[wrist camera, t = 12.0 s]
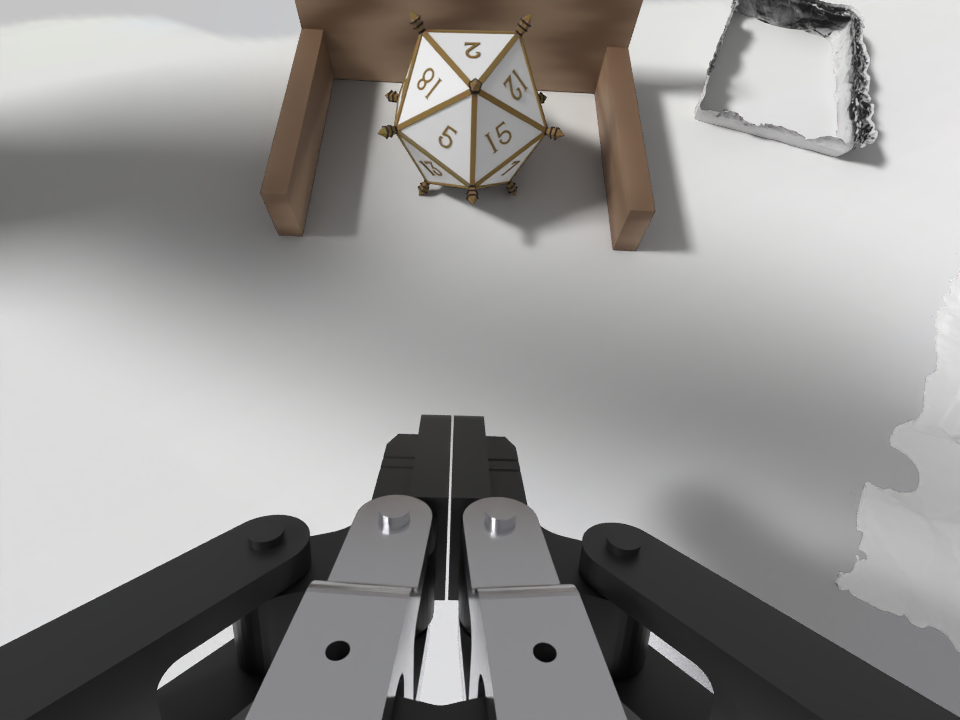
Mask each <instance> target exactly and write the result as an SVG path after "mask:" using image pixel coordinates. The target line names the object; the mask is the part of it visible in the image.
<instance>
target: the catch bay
mask: <svg viewBox="0 0 960 720" xmlns="http://www.w3.org/2000/svg"><path fill="white" fill-rule="evenodd" d="M642 2H643V0H295V3H296V7H297V11H298V15H299V19H300V23H301V27H302V30H301V34H300V37H299V41H298V45H297V49H296V53H295V57H294V61H293V65H292V69H291V73H290V77H289V81H288V85H287V89H286V93H285V97H284V100H283V104H282V108H281V112H280V116H279V120H278V124H277V128H276V132H275V136H274V140H273V144H272V148H271V152H270V156H269V160H268V163H267V167H266V171H265V175H264V179H263V183H262V187H261V191H260V194H261V196H262V198H263V200H264V203H265V205H266V207H267V210H268V212H269V214H270V216H271V219H272V221H273V223H274V226H275V228H276V230H277V232H278V235H292V236H303V231H304V226H305V221H306V216H307V211H308V206H309V201H310V196H311V191H312V186H313V181H314V176H315V171H316V166H317V161H318V156H319V151H320V145H321V140H322V135H323V130H324V125H325V120H326V115H327V110H328V105H329V100H330V95H331V90H332V85H333V80H334V79H350V80H368V81H386V82H403V80H404V77H405V74H406V72H407V69H408V66H409V63H410V60H411V57H412V54H413V51H414V48H415V45H416V42H417V39H418V36H419V33H418V32H417V31H416V30H415V29H413V28H414V27H413V26H412V24H411V25H410V22H411V16H410V11H412V12H414V13H415V14H417V15H420V16H421V20H422V21H423V25H424V28H425V29H435V30H484V31H516V30H517V27H518V23H520V21H521V18H523V17H525V16H527V15H529V14H531V23H530V25H531V27H529V28H528V30H527V31H528V32H525V33H524V34H523V35H522V39H523V42H524V46H525V49H526V53H527V56H528V60H529V63H530V67H531V70H532V74H533V77H534V81H535V85H536V88H537V90H547V91H565V92H582V93H595V101H596V110H597V118H598V127H599V135H600V144H601V153H602V161H603V170H604V178H605V187H606V196H607V204H608V213H609V221H610V230H611V238H612V247H613V250H631V251H636V249H637V247H638V245H639V243H640V241H641V239H642V237H643V235H644V233H645V231H646V229H647V227H648V225H649V223H650V221H651V219H652V217H653V215H654V213H655V207H654V201H653V195H652V189H651V183H650V177H649V171H648V165H647V159H646V153H645V147H644V141H643V135H642V129H641V122H640V116H639V110H638V104H637V98H636V92H635V86H634V80H633V74H632V68H631V62H630V56H629V50H628V47H629V44H630V40H631V37H632V34H633V31H634V28H635V24H636V21H637V18H638V15H639V11H640V8H641V5H642Z"/></svg>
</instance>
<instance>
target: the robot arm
mask: <svg viewBox="0 0 960 720" xmlns="http://www.w3.org/2000/svg"><path fill="white" fill-rule="evenodd" d="M450 442H451V415H421V421H420V428H419V434H398V435H397V436H396V437H395V438H393V439H392V440H391V441H390V442H389V443H388V444H387V446H386V449H385V453H384V459H383V460H382V464H381V469H380V471H379V475H378V479H377V483H376V486H375V490H374V494H373V497H372V500H371V501H369V502H367V503H366V504H364V505H363V506H362V507H361V508H360V509H359V510H358V512H357V514H356V516H355V518H354V520H353V523H352V525H351V526H349V527H347V528H345V529H342V530H339V531H335V532H331V533H326V534H320V535H315V536H310V531H309V528H308V526H307V525H306V524H305V523H304V522H303V521H302V520H300V519H298V518H295V517H292V516H287V515H269V516H263V517H259V518H255V519H252V520H250V521H247V522H245V523H243V524H241V525H239V526H237V527H235V528H233V529H231V530H229V531H227V532H225V533H223V534H221V535H219V536H217V537H215V538H213V539H211V540H210V541H208V542H206V543H204V544H202V545H200V546H198V547H196V548H194V549H192V550H190V551H188V552H186V553H184V554H182V555H180V556H178V557H176V558H174V559H172V560H170V561H168V562H166V563H164V564H162V565H160V566H158V567H156V568H154V569H153V570H151V571H149V572H147V573H145V574H143V575H141V576H139V577H137V578H135V579H133V580H131V581H129V582H127V583H125V584H123V585H121V586H119V587H117V588H115V589H113V590H111V591H109V592H107V593H105V594H103V595H101V596H99V597H97V598H96V599H94V600H92V601H90V602H88V603H86V604H84V605H82V606H80V607H78V608H76V609H74V610H72V611H70V612H68V613H66V614H64V615H62V616H60V617H58V618H56V619H54V620H52V621H50V622H48V623H46V624H44V625H42V626H40V627H39V628H37V629H35V630H33V631H31V632H29V633H27V634H25V635H23V636H21V637H19V638H17V639H15V640H13V641H11V642H9V643H7V644H5V645H3V646H1V647H0V720H960V717H958V716H956V715H955V714H953V713H951V712H950V711H948V710H946V709H944V708H943V707H941V706H939V705H938V704H936V703H934V702H933V701H931V700H929V699H927V698H926V697H924V696H922V695H921V694H919V693H917V692H916V691H914V690H912V689H911V688H909V687H907V686H905V685H904V684H902V683H900V682H899V681H897V680H895V679H894V678H892V677H890V676H889V675H887V674H885V673H883V672H882V671H880V670H878V669H877V668H875V667H873V666H872V665H870V664H868V663H866V662H865V661H863V660H861V659H860V658H858V657H856V656H855V655H853V654H851V653H850V652H848V651H846V650H844V649H843V648H841V647H839V646H838V645H836V644H834V643H833V642H831V641H829V640H828V639H826V638H824V637H822V636H821V635H819V634H817V633H816V632H814V631H812V630H811V629H809V628H807V627H805V626H804V625H802V624H800V623H799V622H797V621H795V620H794V619H792V618H790V617H789V616H787V615H785V614H783V613H782V612H780V611H778V610H777V609H775V608H773V607H772V606H770V605H768V604H767V603H765V602H763V601H761V600H760V599H758V598H756V597H755V596H753V595H751V594H750V593H748V592H746V591H744V590H743V589H741V588H739V587H738V586H736V585H734V584H733V583H731V582H729V581H728V580H726V579H724V578H722V577H721V576H719V575H717V574H716V573H714V572H712V571H711V570H709V569H707V568H706V567H704V566H702V565H700V564H699V563H697V562H695V561H694V560H692V559H690V558H689V557H687V556H685V555H683V554H682V553H680V552H678V551H677V550H675V549H673V548H672V547H670V546H668V545H667V544H665V543H663V542H661V541H660V540H658V539H656V538H655V537H653V536H651V535H650V534H648V533H646V532H644V531H642V530H641V529H638V528H636V527H633V526H630V525H626V524H621V523H601V524H598V525H595V526H592V527H591V528H589V529H588V530H587V531H586V532H585V533H584V535H583V539H582V541H580V540H576V539H572V538H568V537H564V536H560V535H557V534H554V533H552V532H550V531H548V530H546V529H544V528H543V527H541V526H540V524H539V521H538V518H537V516H536V514H535V512H534V511H533V510H532V509H531V508H530V507H529V506H527V501H526V496H525V491H524V486H523V481H522V476H521V472H520V466H519V462H518V456H517V451H516V447H515V446H514V445H513V444H512V443H511V442H510V441H509V440H508V439H507V438H506V437H496V436H486V435H485V425H484V416H454V431H453V459H452V488H451V521H450V555H449V590H448V600H459V615H458V647H459V659H460V671H461V682H462V694H463V701H461V702H457V703H453V704H449V705H443V706H438V705H432V704H428V703H424V702H420V701H419V698H420V692H421V686H422V680H423V673H424V667H425V661H426V655H427V648H428V642H429V634H430V622H431V620H432V618H433V613H434V600H445V580H446V553H447V527H448V500H449V471H450ZM231 624H233V631H234V639H232V640H231V641H229V642H228V643H226V644H225V645H223V646H222V647H220V648H219V649H217V650H216V651H214V652H213V653H211V654H210V655H208V656H207V657H205V658H204V659H203V660H201V661H200V662H198V663H197V664H195V665H194V666H192V667H191V668H189V669H188V670H186V671H185V672H183V673H182V674H180V675H179V676H177V677H176V678H174V679H173V680H171V681H170V682H169V683H167V684H166V685H164V686H163V687H161V688H160V689H158V690H157V687H158V684H159V682H160V680H161V678H162V676H163V675H164V673H165V672H166V671H167V669H168V668H169V667H170V666H171V665H172V664H173V663H174V662H176V661H177V660H178V659H180V658H181V657H182V656H184V655H185V654H187V653H189V652H190V651H192V650H193V649H195V648H196V647H198V646H199V645H201V644H202V643H204V642H205V641H207V640H208V639H210V638H212V637H213V636H215V635H216V634H218V633H219V632H221V631H222V630H224V629H225V628H227V627H228V626H230V625H231ZM650 631H651V632H653V633H654V634H655V635H657V636H658V637H660V638H661V639H662V640H664V641H665V642H666V643H668V644H669V645H670V646H672V647H673V648H674V649H676V650H677V651H679V652H680V653H681V654H683V655H684V656H685V657H687V658H688V659H689V660H691V661H692V662H693V663H695V664H696V665H697V666H698V667H699V668H700V669H701V670H702V671H703V672H704V673H705V674H706V676H707V677H708V679H709V680H710V682H711V684H712V687H713V690H714V694H713V693H711V692H710V691H709V690H708V689H706V688H705V687H704V686H702V685H701V684H700V683H698V682H697V681H696V680H694V679H693V678H692V677H690V676H689V675H688V674H686V673H685V672H684V671H683V670H681V669H680V668H679V667H677V666H676V665H675V664H673V663H672V662H671V661H669V660H668V659H667V658H665V657H664V656H663V655H661V654H660V653H659V652H657V651H656V650H655V649H654V648H652V647H651V646H650V645H648V641H649V636H650Z"/></svg>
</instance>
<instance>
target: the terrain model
mask: <svg viewBox="0 0 960 720" xmlns="http://www.w3.org/2000/svg"><path fill="white" fill-rule="evenodd" d="M957 254H958V253H957ZM949 286H950V290H951V291H950V293H946V294H944V295H943V298H944V301H945V305H944V306H942V307H941V308H940V309H939V310H938V312H937V316H936V321H935V327H936V328H937V334H936V335H935V337H934V338H935V341H936V346H935V351H936V353H937V365H936V368H937V370H936V371H935V372H933V373H932V374H930V375H929V376H927V377H926V380H925V381H926V385H925V394H924V406H923V408H924V410H923V411H922V412H921V413H920V415H919V417H918V418H917V420H916V421H912V420H909V421H908V422H907V423H903V424H900V425H898V426H896V427H895V429H894V432H893V433H892V435H891V436H890V438H889V442H890V445H891V446H892V447H893V448H896V449H897V450H899V451H901V452H902V453H904V454H905V455H906V456H908V457H909V458H910V459H911V460H912V461H913V463H914V464H915V466H916V467H917V470H918V472H919V484H918V487H917V489H916V490H915V491H914V492H898V491H895V490H892V489H889V488H887V489H882V488H880V487H877V486H875V485H873V484H872V483H871V482H866V483H865V485H864V488H863V490H862V494H861V498H860V501H859V502H860V505H859V508H858V513H857V524H858V525H857V526H856V529H857V530H858V531H861V532H862V533H863V536H862V540H861V543H860V545H859V550H860V551H863V552H865V554H866V557H867V558H866V560H865V559H864V560H863V559H862V560H858V559H859V556H858V555H856V558H857V562H856V563H855V565H854V568H853V569H852V571H851V572H850V573H845V574H844V573H843V572H841V571H840V575H841V576H840V575H838V576H839V579H837V581H835V582H836V583H837V584H838V587H839V588H840V590H842V591H843V590H849V592H850V594H851V595H853V596H855V597H856V598H858V599H861V600H863V601H865V602H867V603H869V604H871V606H873V607H876V608H878V609H879V610H881V611H887V612H891V613H893V614H895V615H898V616H899V617H901V616H903V615H905V616H906V617H907V618H908V620H909V621H910V623H911V624H913V625H915V626H917V627H919V628H925V627H927V626H929V627H934V628H936V629H938V630H939V631H941V632H942V633H943V634H945V635H946V636H947V637H948V638H949V640H950V641H951V642H952V643H953V645H954V647H955V649H956V650H957V651H958V652H959V653H960V271H959V272H958V277H957V278H956V279H954V278H952V279H951V280H950V285H949ZM932 317H933V316H932ZM851 493H852V492H851ZM853 496H854V495H853Z"/></svg>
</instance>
